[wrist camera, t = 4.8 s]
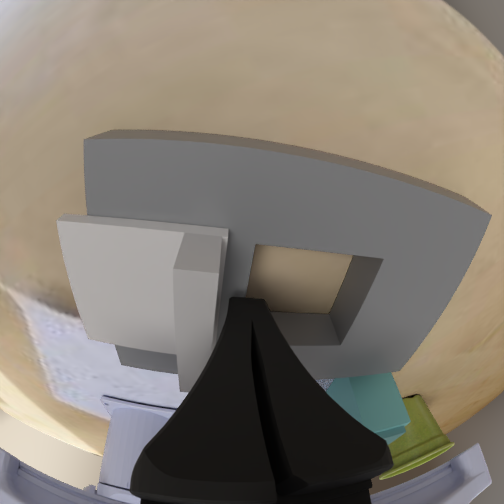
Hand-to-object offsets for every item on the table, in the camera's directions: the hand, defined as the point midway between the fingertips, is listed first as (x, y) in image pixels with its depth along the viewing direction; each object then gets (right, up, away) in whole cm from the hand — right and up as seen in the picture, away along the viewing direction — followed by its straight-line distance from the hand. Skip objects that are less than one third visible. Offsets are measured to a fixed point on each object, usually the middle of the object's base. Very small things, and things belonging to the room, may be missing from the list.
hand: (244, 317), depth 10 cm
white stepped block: (-4, +1, 0) cm, 4 cm away
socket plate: (+2, +1, +3) cm, 4 cm away
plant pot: (+18, -17, +15) cm, 29 cm away
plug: (+9, -8, +9) cm, 15 cm away
